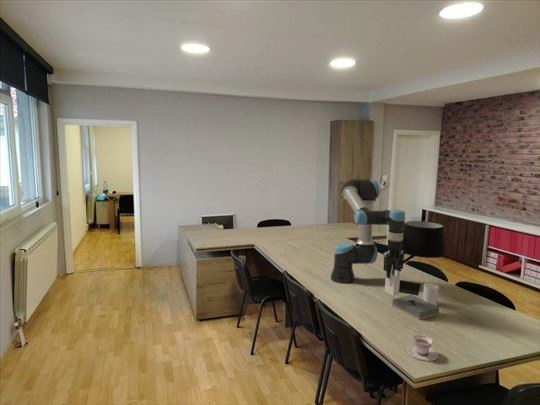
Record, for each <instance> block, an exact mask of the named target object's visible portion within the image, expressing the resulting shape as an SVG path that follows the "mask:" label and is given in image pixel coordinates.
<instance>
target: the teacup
mask: <svg viewBox="0 0 540 405" xmlns="http://www.w3.org/2000/svg"><path fill="white" fill-rule="evenodd" d="M412 341H413V342H414V344H411V345H409V346H407V347H406V352H408V355H409V356H411V357H412V358H414V359H417V360H419V361H424V362H434V361H436V360H437V359H438V357H439V354H438V352H436V351H435V350H434V349H433V348H431V346H432V345H433V343H434V340H433V339H432V337H430V336H427V335H425V334H421V333H420V334H419V333H417V334H414V335H413V336H412ZM410 349H411V350H412V352H413V355H414V354H415V355H414V356H413V355H412V354H411V351H409V350H410ZM426 354H428V355H426ZM416 355H417V356H416Z"/></svg>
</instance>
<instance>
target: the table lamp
mask: <svg viewBox="0 0 540 405" xmlns="http://www.w3.org/2000/svg"><path fill="white" fill-rule="evenodd" d="M444 231H445V230H444V225H442V224H440V223H437V222H432V221H431V222H430V221H423V220H422V221H421V220H411V221H409V220H408V221H405V224H404V234H403V240H402V241H403V247H402V248H401V249H402V250H403V251H405V255H408V257H407V258H404V262H403V265H404V264H405V263H407V262H409V261H410V260H411V259H414V258H415V257H419V258H427V259H436V258H437V259H438V258H443V257H445V255H446V251H445V250H446V247H445V236H444ZM392 269H395V260H394V261H393V265H392ZM392 269H391V270H392ZM395 270H396V269H395ZM421 284H422V283H419V282H415V281H408V280H404V279H403V280H401V279H400V284H399V293H400V294H401V293H402V294H408V295H413V296H419V293H420V289H421Z"/></svg>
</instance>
